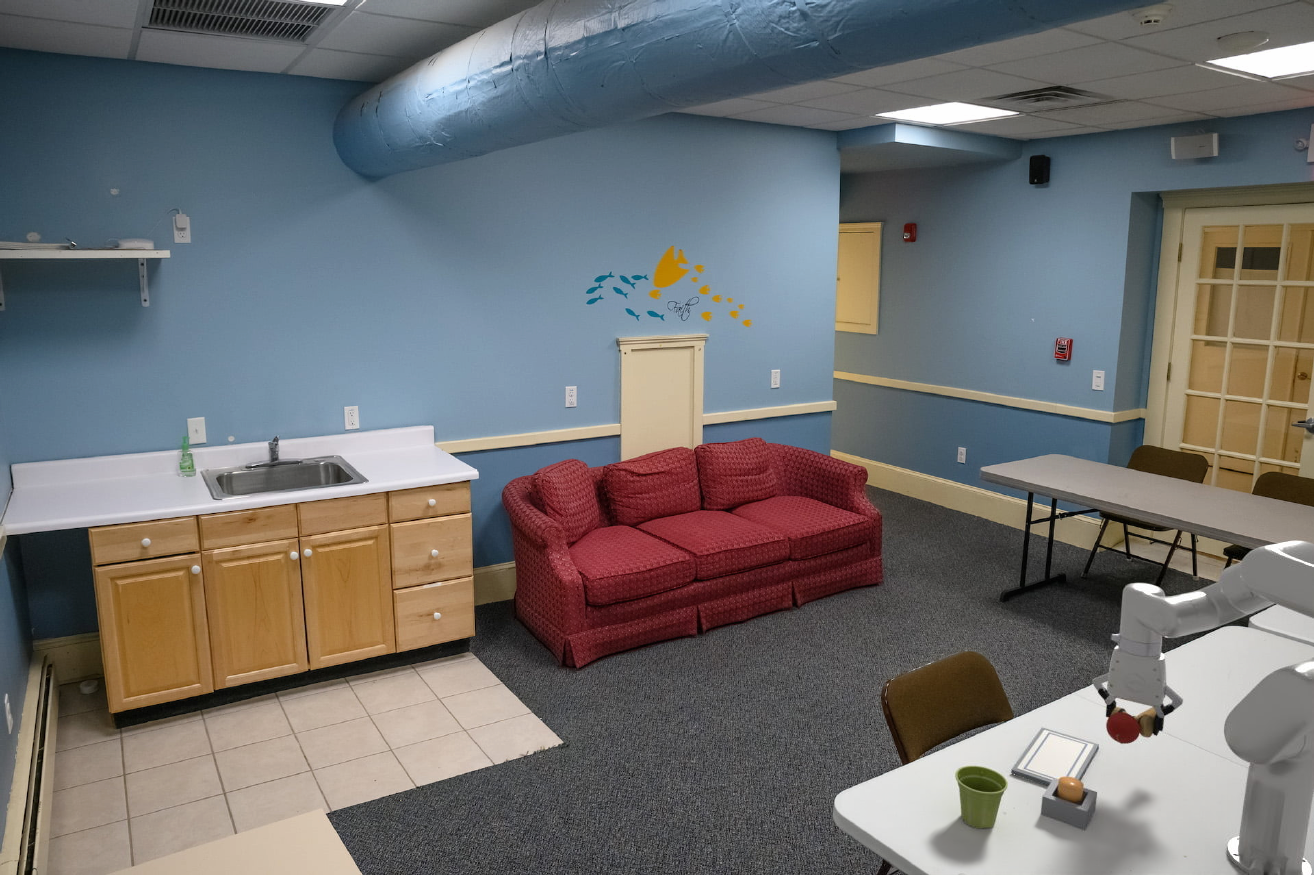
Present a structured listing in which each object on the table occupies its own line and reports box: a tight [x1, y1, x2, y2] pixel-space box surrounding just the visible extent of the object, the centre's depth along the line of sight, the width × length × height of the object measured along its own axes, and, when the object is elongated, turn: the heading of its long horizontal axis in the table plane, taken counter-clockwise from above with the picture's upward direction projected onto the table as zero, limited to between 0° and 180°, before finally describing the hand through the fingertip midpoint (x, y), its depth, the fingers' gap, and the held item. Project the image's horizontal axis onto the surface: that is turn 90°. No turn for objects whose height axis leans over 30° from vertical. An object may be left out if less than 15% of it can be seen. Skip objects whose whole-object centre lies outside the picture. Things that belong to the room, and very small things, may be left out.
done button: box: [1057, 776, 1085, 804], centre depth 174 cm, size 4×4×3 cm
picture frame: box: [1010, 727, 1100, 787], centre depth 193 cm, size 22×12×1 cm, turn 142°
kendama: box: [1105, 706, 1156, 745], centre depth 184 cm, size 8×6×18 cm
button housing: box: [1040, 778, 1098, 831], centre depth 175 cm, size 8×8×4 cm
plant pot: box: [955, 765, 1009, 829], centre depth 172 cm, size 9×9×9 cm
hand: (1133, 726), depth 184 cm, fingers closed on kendama, 7 cm apart
